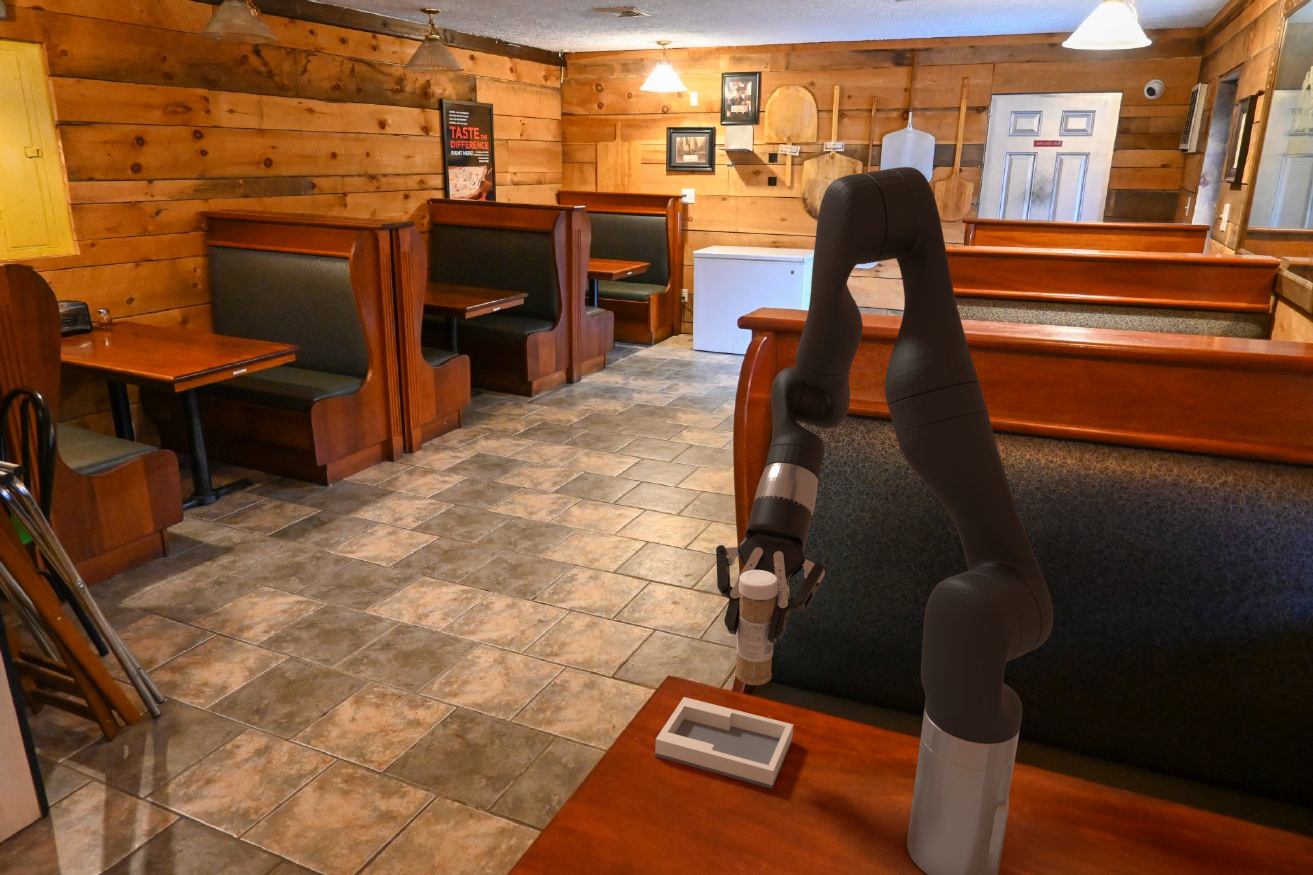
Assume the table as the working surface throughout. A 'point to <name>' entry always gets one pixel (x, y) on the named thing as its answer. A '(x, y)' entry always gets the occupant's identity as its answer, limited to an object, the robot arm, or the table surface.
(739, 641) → the sprinkles bottle
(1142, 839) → the table surface
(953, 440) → the robot arm
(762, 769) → the shallow tray
